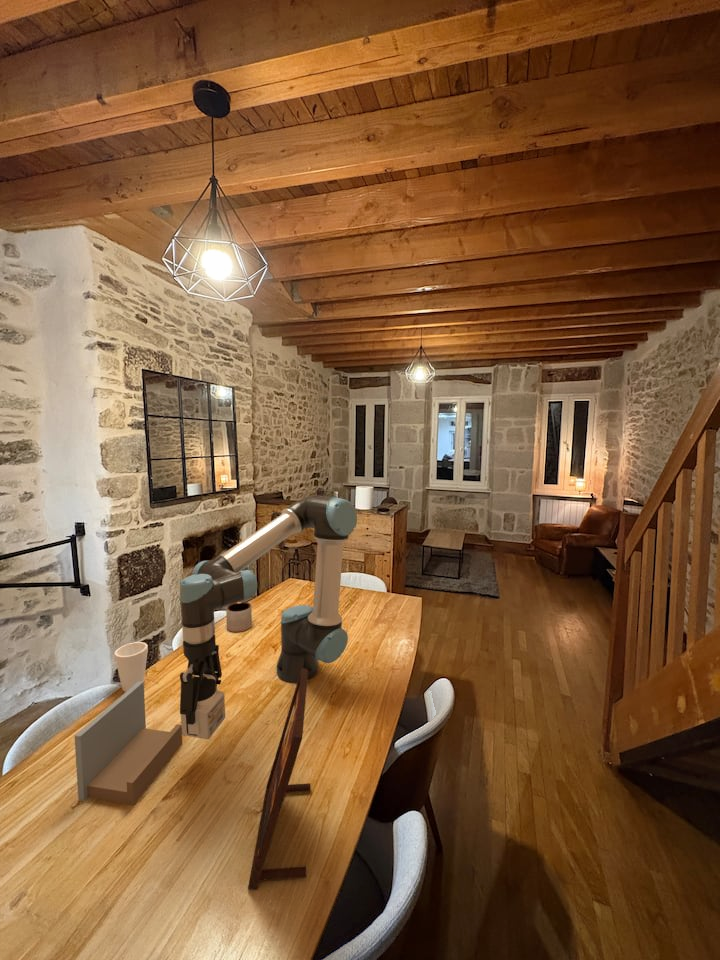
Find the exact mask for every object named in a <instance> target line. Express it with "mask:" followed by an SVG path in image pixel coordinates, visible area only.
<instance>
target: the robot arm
mask: <svg viewBox="0 0 720 960" xmlns="http://www.w3.org/2000/svg"><path fill="white" fill-rule="evenodd" d="M357 514H358V513H357V510H356V507H355V506H354V505H353V504H352V502H350V500H348V499H344V498H342V497H335V496H327V495H326V496H325V495H320V494H311V495H308V496H305V497H302V498H300V499H299V500H297V501H295V502H293V503H292V504H289V506H287V507H285V508H283V510H281V514H280V515H279V516H277V517H275V518H274V519H273V520H271V521H270V522H269V523H268V522H267V524H265V525H264V526H262V527H261V528H259V529H257V530H256V531H255V532H254V533H252V534H250V535H249V536H247V537H246V538H244V539H243V540H241V541H240V542H238V543H237V544H236V545H234V546H232V547H231V548H229V549H228V550H226V551H225V552H223V553H222V554H220V555H219V556H217V557H216V558H214V559H213V560H202V561H199V562H198V563H197V564H196V565H195V566H194V568H193V570H192V573H191V574H190V575H188V576H186V577H185V578H183V579H182V580H181V582H180V585H179V598H178V599H179V604H180V612H181V613H180V614H181V625H182V626H181V629H182V639H183V641H182V649H183V655H184V657H185V658H186V659H187V660H188V661H187V669H186V671H185V672H181V673H180V674H179V679H180V695H179V696H180V700H179V701H180V702H179V714H180V715H181V714H184V715H187V723H188V733H189V734H196V735H199V734H200V720H199V708H197V702H198V696H199V689H200V683H201V680H203V676H204V674H209V675H212V676H214V677H215V679H216V691H218V685H219V686H220V685H221V684H222V680H221V678H222V675H223V672H222V668H221V667H222V665H221V661H220V655H219V651H220V650H219V649H220V646H219V644H216V626H215V610H218V609H221V608H223V607H227V606H228V605H230V604H233V603H236V602H243V601H245V600H246V599H248V598H251V597H253V596H254V595H256V593H257V591H258V581H257V578H256V575H255V573H254V572H253V571H252V570H250V569H246V568H248V567H249V566H250V565H251V564H253V563H255V561H257V560H258V559H259V558H261V557H263V556H264V555H266V554H267V553H268V552H269V551H271V550H272V549H273V548H275V547H277V546H278V545H280V543H282V542H283V541H285V540H286V539H287V538H289V537H290V536H291V535H293V534H294V533H295V534H299V533H300V532H302V531H304V530H306V529H314V530H313V538H314V539H315V541H317V548H316V549H317V550H316V561H315V562H316V563H315V576H314V577H315V578H314V591H313V603H312V604H313V605H312V606H311V605H306V604H305V605H303V604H300V605H299V604H298V605H294V606H291V607H288V608H286V609H284V610H283V611H282V612H281V613H282V614H281V617H280V632H281V633H280V635H281V637H280V638H281V639H280V643H281V644H280V645H281V649H280V650H281V651H280V654H279V657H278V660H277V664H276V675H277V677H278V678H279V679H280V680H282V681H284V682H287V683H297V682H298V678H299V675H300V672H301V668H304V669H308V679H307V681H309V680H311V679H312V678H314V677H315V676H316V675H317V674H318V672H319V671H320V670H319V668H320V666H319V661H321V662H322V663H325V664H330V663H331V664H332V663H334V662H336V661H337V660H338V659H340V657H341V656H342V655H343V653H344V652H345V650H346V648H347V645H348V642H349V635H348V633H347V631H346V630H345V629H344V628H343V625H342V624H343V617H342V616H341V615H340V613H339V609H340V608H339V607H340V606H339V605H340V591H341V581H342V565H343V556H344V555H343V553H344V545H345V543H346V542H347V541H348V539H349V535H351V534H352V533H353V532H354V529H356V528H357V523H358V515H357ZM197 676H199V677H197Z"/></svg>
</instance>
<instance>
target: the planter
mask: <svg viewBox="0 0 720 960" xmlns="http://www.w3.org/2000/svg"><path fill="white" fill-rule="evenodd" d="M225 613H226V629H227V630H228V631H229V632H230V633H231V632H232V633H241V631H242V632H245V631H247V630H249V629H250V628H251V627H252V626H253V625H252V624H253V615H252V613H253V611H252V604H251V603H250V602H246V601H239V602H236V603H233V604H230V605H227V606H226V612H225Z"/></svg>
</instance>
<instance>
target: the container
mask: <svg viewBox="0 0 720 960" xmlns="http://www.w3.org/2000/svg"><path fill="white" fill-rule="evenodd" d="M196 677H199V676H196ZM225 699H226V698H225V691H220V690H217V691H216V679H215V677H214V676H212V675H209V674H204V676H203V680H201V683H200V689H199V696H198V702H197V708H199V720H200V734H199V735H196V734H189V733H188V723H187V715H184V714H180V723H181V724H180V725H181V726H182V736H186V737H190V738H197V739H203V740H207V741H208V740H210V739H211V738H212V736H213V735H214V733H215V732H216V731H217V730H218V729H219V728H220V726H221V724H222V723H224V721H225V719H226V702H225Z"/></svg>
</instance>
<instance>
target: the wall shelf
mask: <svg viewBox="0 0 720 960" xmlns="http://www.w3.org/2000/svg"><path fill="white" fill-rule="evenodd" d="M145 702H146V701H145V681H144V682H142V681H139V682H137V683H136V684H135V685H134V686H133V687H131V688H130V689H129V690H128V691H127V692H124V693H123V694H122V695H121V696H119V697H118V698H117V699H116V700H115V701H114V702H112V703H111V704H110V705H109V706H108V707H107V708H105V709H104V710H103V711H102V712H100V713H99V714H98V715H97V716H96V717H95V718H94V719H92V720H91V721H90V722H89V723H88V724H86V725H85V726H84V727H83V728H82V729H80V730H79V731H78V732H77V733H76V734H75V735H74V749H75V751H74V752H75V765H76V780H77V798H78V799H77V800H78V801H79V802H85V801H87V800H88V798H89V799H92V800H93V799H95V800H100V801H104V802H105V801H106V802H112V803H116V804H117V803H118V804H123V805H130V806H135V804H136V803H137V802H138V800H140V798H141V797H142V795H144V793H145V792H146V791H147V789H148V788H149V787H150V785H151V784H152V783H153V782H154V780H155V779H156V778H157V776H158V775H160V772H161V771H162V770H163V769H164V768H165V767H166V765H167V764H168V763H169V761H170V760H171V759H172V757H174V755H175V754H176V753H177V751H178V750H179V749H180V747H181V746H182V745H183V735H182V726H181V724H178V723H177V724H176V725H175V726H174V727H173V728H172V729H171V730H170V731H167V730H158V729H151V728H147V726H146V725H147V723H146V703H145Z"/></svg>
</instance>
